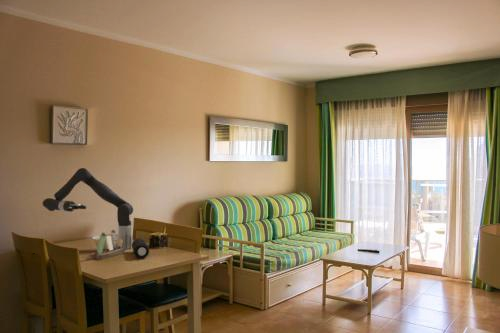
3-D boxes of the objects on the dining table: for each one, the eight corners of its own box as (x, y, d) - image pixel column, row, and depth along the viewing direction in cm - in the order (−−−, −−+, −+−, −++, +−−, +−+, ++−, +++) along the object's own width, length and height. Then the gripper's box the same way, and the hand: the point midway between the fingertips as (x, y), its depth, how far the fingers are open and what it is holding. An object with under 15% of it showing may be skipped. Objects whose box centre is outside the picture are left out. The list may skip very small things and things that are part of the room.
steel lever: (113, 249, 297) (110, 230, 298) (116, 248, 300) (113, 230, 301) (116, 248, 296) (112, 230, 297) (119, 248, 299) (115, 229, 300)
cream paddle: (107, 250, 291) (105, 236, 292) (111, 249, 295) (109, 235, 295) (109, 250, 290) (106, 236, 291) (113, 249, 294) (110, 235, 295)
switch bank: (90, 258, 281) (90, 251, 281) (114, 251, 302) (114, 245, 302) (101, 259, 278) (101, 252, 278) (124, 253, 299) (124, 246, 299)
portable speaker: (131, 251, 305) (131, 238, 304) (145, 251, 308) (145, 237, 308) (134, 259, 281) (134, 244, 281) (149, 259, 284) (149, 244, 284)
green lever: (95, 253, 281) (100, 232, 280) (99, 252, 284) (104, 231, 283) (98, 254, 280) (103, 233, 279) (102, 253, 283) (107, 233, 282)
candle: (167, 246, 327) (167, 233, 327) (159, 248, 318) (159, 235, 318) (156, 244, 331) (157, 232, 331) (148, 247, 322) (148, 234, 322)
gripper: (59, 201, 298) (78, 202, 291) (74, 200, 310) (92, 201, 303) (59, 212, 298) (78, 213, 291) (73, 210, 310) (92, 211, 303)
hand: (85, 207), depth 297 cm, fingers closed
